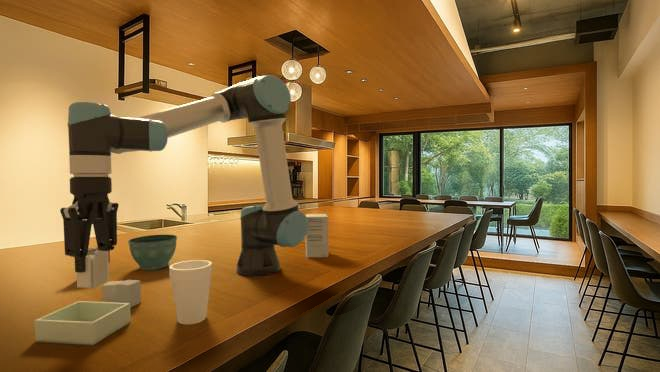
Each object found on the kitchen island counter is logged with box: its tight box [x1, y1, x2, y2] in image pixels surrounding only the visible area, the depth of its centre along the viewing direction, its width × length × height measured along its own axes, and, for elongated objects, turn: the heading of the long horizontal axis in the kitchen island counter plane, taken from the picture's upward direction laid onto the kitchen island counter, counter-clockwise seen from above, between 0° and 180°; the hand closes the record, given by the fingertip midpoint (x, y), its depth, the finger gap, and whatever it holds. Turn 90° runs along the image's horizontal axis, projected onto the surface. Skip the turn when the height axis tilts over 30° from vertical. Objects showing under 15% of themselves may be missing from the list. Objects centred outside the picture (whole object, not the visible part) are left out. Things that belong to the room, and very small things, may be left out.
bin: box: [34, 300, 132, 346], centre depth 79 cm, size 13×11×4 cm
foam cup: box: [168, 259, 213, 325], centre depth 85 cm, size 10×9×13 cm
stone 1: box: [85, 255, 109, 289], centre depth 78 cm, size 4×4×6 cm
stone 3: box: [116, 279, 142, 309], centre depth 95 cm, size 4×4×6 cm
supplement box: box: [304, 213, 329, 259], centre depth 150 cm, size 10×9×17 cm
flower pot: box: [127, 234, 178, 271], centre depth 132 cm, size 16×16×11 cm
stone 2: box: [101, 280, 124, 303], centre depth 98 cm, size 4×4×5 cm
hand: (93, 282), depth 78 cm, fingers closed on stone 1, 4 cm apart
